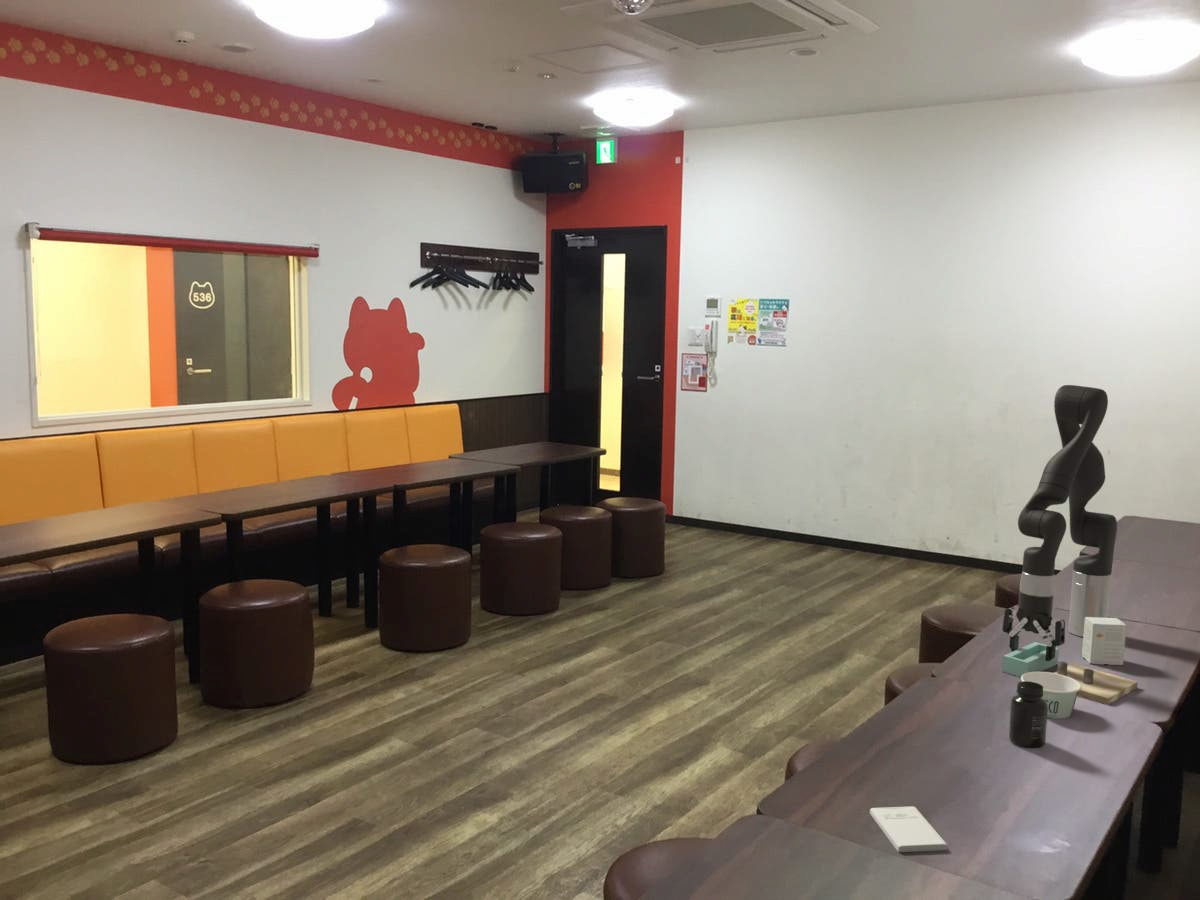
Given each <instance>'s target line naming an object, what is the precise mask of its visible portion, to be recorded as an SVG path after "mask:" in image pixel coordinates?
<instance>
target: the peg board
mask: <svg viewBox="0 0 1200 900" xmlns="http://www.w3.org/2000/svg"><path fill="white" fill-rule="evenodd" d="M1053 673H1056V674H1060V675H1064V676H1067V677H1070V678H1072V679H1074V680H1076V681H1077V682H1079V683H1080V684H1081V690H1079V691H1078V694H1077V697H1079V698H1080V697H1081V698H1084V699H1086V700H1087V699H1088V700H1089V701H1093V700H1094V702H1095V703H1096V702H1098V703H1100V704H1104V705H1106V706H1107V705H1110V704H1112V703H1113V702H1115V701H1117V700H1119V699H1121V698H1122V697H1124V696H1125V694H1126V695H1127V694H1129V693H1131V692H1133V691H1135V690H1136V689H1138V686H1139V685H1138V684H1139V681H1138V680H1133V679H1129V678H1127V677H1122V676H1118V675H1116V674H1112V673H1109V672H1108V673H1107V672H1104V671H1102V670H1097V669H1094V668H1090V667H1087V666H1083V665H1080V664H1075V663H1071V664H1069V665H1068V663H1067V662H1065V661H1058V664H1057V671H1055V672H1053ZM1132 690H1133V691H1132ZM1130 691H1131V692H1130Z"/></svg>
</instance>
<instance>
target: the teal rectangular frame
mask: <svg viewBox="0 0 1200 900" xmlns="http://www.w3.org/2000/svg"><path fill="white" fill-rule="evenodd" d="M1046 646H1048V645H1047V644H1043V643H1039V642H1037V641H1034V642H1032V643H1029V644H1028V645H1025V646H1023V647H1020V648H1018V650H1015V651H1013V652H1012V651H1011V652H1009V653H1006V654H1005V655H1003V657H1002V667H1001V672H1002V671H1003V672H1002V673H1005V672H1006V673H1005V674H1008V673H1009V675H1012V676H1015V675H1017V676H1016V677H1018V676H1020V677H1019V678H1021V676H1022V675H1023V674H1025V673H1029V672H1041V671H1042V672H1044V671H1046V670H1048V669H1050V668H1052V667H1054V666H1057V665H1058V662H1059V652H1060V651H1059V650H1060V648H1059V647H1056V649H1055V657H1054V659H1052V660H1051V661H1046V660H1045V658H1046ZM1056 664H1057V665H1056ZM1049 667H1050V668H1049ZM1047 668H1048V669H1047ZM1045 669H1046V670H1045ZM1043 670H1044V671H1043Z"/></svg>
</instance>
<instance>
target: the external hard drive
mask: <svg viewBox="0 0 1200 900" xmlns="http://www.w3.org/2000/svg"><path fill="white" fill-rule="evenodd" d="M869 814H870V816H871V817H872V818H873V819H874V822H875V823H877V825H878V826H879V828H880V829H881V831H882V832H883V834H885V836H886V838H887V839H888V840H889V842H890V843H891V844H892V845H893V847H894V848H895V850H896V851H897V852H898V853H905V852H907V853H909V852H930V851H932V852H933V851H948V844H947V843H946V841H945V840H944V839H943V838H942V837H941V836H940V834H939V833H938V832H937V831H936V830H935V828H934V827H933V826H932V825H931V823H930V822H928V820H927V819H926V818H925V817H924V816H923V814H922V813H921V812H920V811H919V810H918V809H917V807H916V806H893V807H892V806H890V807H872V808H870V809H869Z"/></svg>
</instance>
